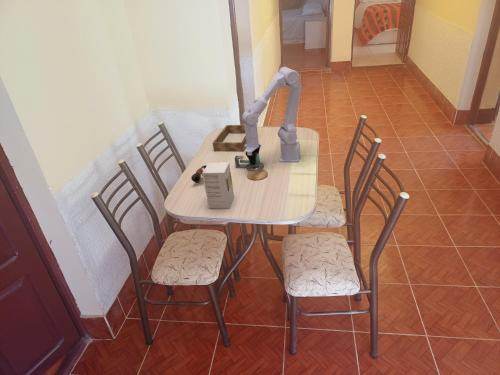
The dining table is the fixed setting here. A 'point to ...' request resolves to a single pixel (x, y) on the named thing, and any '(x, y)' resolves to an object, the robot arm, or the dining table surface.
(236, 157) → the dark grey handled bowl
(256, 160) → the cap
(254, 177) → the coaster
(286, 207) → the dining table surface
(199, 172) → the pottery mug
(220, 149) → the tray
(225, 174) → the supplement box
